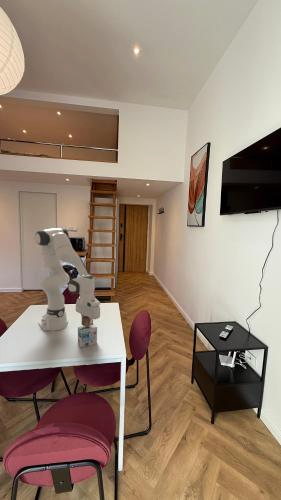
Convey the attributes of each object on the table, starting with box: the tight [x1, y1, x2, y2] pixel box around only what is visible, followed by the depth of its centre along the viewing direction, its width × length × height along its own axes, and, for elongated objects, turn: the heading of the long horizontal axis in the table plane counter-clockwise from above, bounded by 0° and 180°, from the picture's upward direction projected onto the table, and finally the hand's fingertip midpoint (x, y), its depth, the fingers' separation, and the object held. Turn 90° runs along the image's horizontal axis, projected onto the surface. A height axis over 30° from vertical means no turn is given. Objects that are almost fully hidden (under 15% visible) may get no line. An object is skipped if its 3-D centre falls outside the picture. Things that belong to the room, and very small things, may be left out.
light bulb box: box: [77, 323, 98, 348], centre depth 138 cm, size 11×7×11 cm, turn 126°
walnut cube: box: [81, 316, 94, 327], centre depth 137 cm, size 5×5×5 cm
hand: (87, 322), depth 137 cm, fingers closed on walnut cube, 5 cm apart
